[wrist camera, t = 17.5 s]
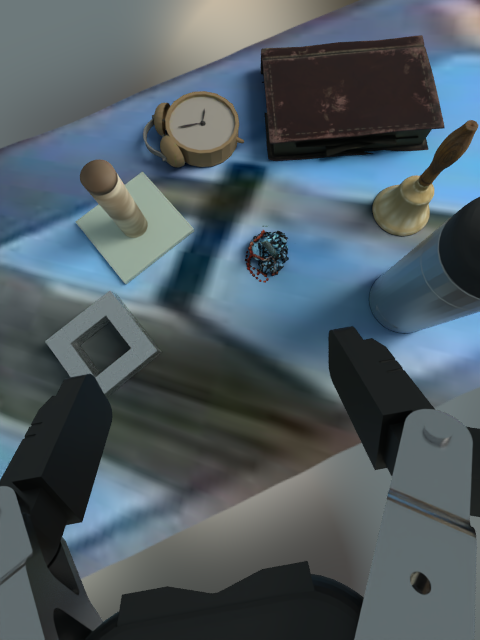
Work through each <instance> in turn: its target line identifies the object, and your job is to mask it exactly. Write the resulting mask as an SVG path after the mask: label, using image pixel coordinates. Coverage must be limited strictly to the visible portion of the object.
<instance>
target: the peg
mask: <svg viewBox="0 0 480 640" xmlns="http://www.w3.org/2000/svg"><path fill="white" fill-rule="evenodd" d="M80 181H81V183H82V185H83V186H84V187H85V188H86V189H87V191H88V192H89V193H90V194H91V195H92V197H93V198H94V199H95V200H96V201H97V202H98V204H99V205H100V206H101V207H102V208H103V209H104V211H105V212H106V213H107V214H108V215H109V216H110V218H111V219H112V220H113V221H114V222H115V224H116V225H117V226H118V227H119V228H120V229H121V231H122V232H123V233H124V234H125V235H126V236H128V237H131V238H137V237H140V236H141V235H143V234H144V233H145V232H146V230H147V227H148V223H147V220H146V218H145V217H144V215H143V213H142V212H141V210H140V209H139V207H138V206H137V204H136V202H135V201H134V199H133V198H132V196H131V195H130V193H129V192H128V190H127V188H126V187H125V185H124V184H123V182H122V181H121V179H120V178H119V176H118V174H117V173H116V171H115V170H114V168H113V167H112V165H111V164H110V163H109V162H107V161H105V160H93V161H91V162H89V163H87V164H86V165H85V166H84V167H83V169H82V170H81V173H80Z"/></svg>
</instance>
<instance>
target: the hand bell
mask: <svg viewBox="0 0 480 640" xmlns="http://www.w3.org/2000/svg"><path fill="white" fill-rule="evenodd" d="M477 128H478V124H477V122H475V121H473V120H470V121H467V122H466V123H465V124H464V125H462V126H461V127H460V128H458V129H457V130H455V131H454V132H452V133H451V134H450V135H449V136H448V137H447V138H446V139H445V140H444V141H443V142H442V143H441V145H440V146H439V148H438V149H437V151H436V153H435V155H434V158H433V161H432V163H431V164H430V166H429V167H428V168H427V169H426V170H425V171H424V173H423V174H422V175H421V176H411V177H409V178H407V179H405V180H404V181H403V182H402V183H401V184H400V185H395V186H391V187H388V188H386V189H384V190H382V191H381V192H380V193H379V194H378V195H377V196H376V198H375V200H374V203H373V215H374V218H375V220H376V222H377V223H378V225H379V226H380V227H381V228H382V229H383V230H385V231H386V232H388V233H391V234H394V235H399V236H407V235H412V234H415V233H417V232H418V231H420V230H421V229H422V228H423V227H424V226H425V225H426V223H427V221H428V219H429V205H428V204H429V202H430V201H431V199H432V198H433V195H434V187H433V184H432V182H433V181H434V180H435V179H436V177H437V176H438V175H439V174H440V172H441V171H443V170H444V169H445V168H447V167H449V166H450V165H452V164H453V163H454V162H456V161H457V160H458V159H459V158H460V157H461V156H462V155H463V154H464V152H465V151H466V150H467V148H468V147H469V145H470V143H471V141H472V138H473V136H474V134H475V132H476V130H477Z"/></svg>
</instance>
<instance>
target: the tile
mask: <svg viewBox="0 0 480 640" xmlns="http://www.w3.org/2000/svg"><path fill="white" fill-rule="evenodd" d="M125 187H126V188H127V190H128V192H129V193H130V195H131V196H132V198H133V199H134V201H135V202H136V204H137V206H138V207H139V209H140V210H141V212H142V213H143V215H144V217H145V218H146V220H147V223H148V227H147V230H146V232H145V233H144V234H143V235H141V236H140V237H137V238H131V237H128V236H126V235H125V234H124V233H123V232H122V231H121V229H120V228H119V227H118V226H117V225H116V224H115V222H114V221H113V220H112V219H111V218H110V216H109V215H108V214H107V213H106V212H105V211H104V209H103V208H102V207H101V206H100V205H97V206H96V207H95V208H93V209H92V210H91V211H89V212H88V213H87V214H85V215H84V216H83V217H81V218H80V219H79V220H77V221H76V223H77V224H78V226H79V227H80V228H81V229H82V231H83V232H84V233H85V234H86V236H87V237H88V238H89V239H90V241H91V242H92V243H93V244H94V246H95V247H96V248H97V249H98V251H99V252H100V253H101V254H102V256H103V257H104V258H105V259H106V261H107V262H108V263H109V264H110V266H111V267H112V268H113V269H114V271H115V272H116V273H117V274H118V276H119V277H120V278H121V279H122V280H123V282H124V283H125V284H127V283H129V282H130V281H131V280H133V279H134V278H135V277H136V276H138V275H139V274H140V273H141V272H143V271H144V270H145V269H147V268H148V267H149V266H150V265H152V264H153V263H154V262H155V261H157V260H158V259H159V258H161V257H162V256H163V255H164V254H166V253H167V252H168V251H169V250H171V249H172V248H173V247H175V246H176V245H177V244H178V243H180V242H181V241H182V240H183V239H185V238H186V237H187V236H189V235H190V234H191V233H192V232H194V229H193V228H192V227H191V225H190V224H189V223H188V222H187V221H186V220H185V219H184V218H183V216H182V215H181V214H180V213H179V212H178V211H177V210H176V209H175V208H174V206H173V205H172V204H171V203H170V202H169V201H168V200H167V199H166V197H165V196H164V195H163V194H162V193H161V192H160V191H159V190H158V188H157V187H156V186H155V185H154V184H153V183H152V182H151V181H150V179H149V178H148V177H147V176H146V175H145V174H144V173H143V172H141V173H140V174H139V175H137V176H136V177H135V178H133V179H132V180H131V181H129V182H128V183H127V184H125Z"/></svg>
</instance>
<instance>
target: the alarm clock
mask: <svg viewBox="0 0 480 640" xmlns="http://www.w3.org/2000/svg"><path fill="white" fill-rule="evenodd" d="M153 125H155V128H156V131H157V132H158V133H159V134H160V135H161V136H162V137H163V138H162V140H161V143H160V149H161V152H162V153H161V152H159V151H157V150H154V149H153V148H151V147H150V146H149V144H148V143H147V139H146V138H147V133H148V131H149V130H150V128H151V127H152V126H153ZM238 128H239V120H238V114H237V112H236V110H235V108H234V106H233V104H232V103H230V102H229V101H228V100H227V99H225V98H223V97H221V96H220V95H218V94H215V93H210V92H206V91H203V92H192V93H189V94H186V95H183V96H182V97H180V98H179V99H177V100H176V101H174V103H173V104H172V105H171V106H170V105H169V103H161V104H160V105H159V106H158V107H157V108H156V110H155V114H154V115H152V120H151V121H150V122H148V123H147V125H146V126H145V128H144V132H143V137H144V141H145V144H146V146H147V148H148V150H149V151H150V152H151V153H153V154H154V155H156V156H159V157H161V158H163V159H162V160H163V161H166V162H168V163H169V164H170V165H172V166H173V167H182V166H184V164H185V162H186V163H188V164H190V165H193V166H198V167H211V166H215V165H217V164H220V163H223V162H224V161H225V160H227V159H228V158H229V157H230V156H231V155H232V153H233V152H234V150H235V149H236V146H237V142H239V143H244V140H242V139H241V138H238ZM165 129H166V130H167V134H168V135H166V134H165Z"/></svg>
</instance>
